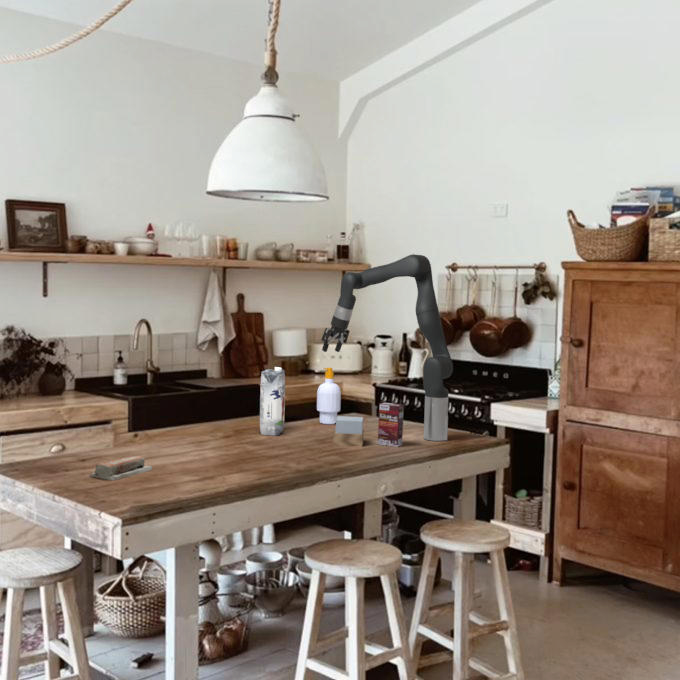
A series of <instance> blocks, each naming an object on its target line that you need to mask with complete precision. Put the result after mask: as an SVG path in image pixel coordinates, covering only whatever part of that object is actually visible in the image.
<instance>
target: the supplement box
mask: <svg viewBox="0 0 680 680" xmlns="http://www.w3.org/2000/svg"><path fill="white" fill-rule="evenodd" d="M378 405H379V406H378V427H377V428H378V431H377V445H378V444H379V446H386V445H387V446H386V447H395V448H398V446H399V447H402V446H403V433H404V432H403V429H404V410H405V409H404V408H405V407H404V406H405V405H404V404H400V403H392V402H391V403H390V402H381V403H379V404H378Z"/></svg>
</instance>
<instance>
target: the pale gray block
mask: <svg viewBox="0 0 680 680" xmlns="http://www.w3.org/2000/svg"><path fill="white" fill-rule="evenodd" d="M335 429H336V433H340V434H362V432H363V430H364V417H363V416H346V415H345V416H342V415H337V419H336V424H335Z"/></svg>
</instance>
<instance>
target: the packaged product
mask: <svg viewBox="0 0 680 680" xmlns="http://www.w3.org/2000/svg"><path fill="white" fill-rule="evenodd" d="M145 461H146V459H145V458H144V457H142V456H141V455H137V456H128V457H123V458H119V459H114V460H110V461H104V462H101V463H98V464H95V470H94V472H93V473H89V477H90V478H91V477H92V478H98V479H102V480H107V481H118V480H120V479H124V478H129V477H132V476H137V475H139V474H143V473H146V472H150V471H152V469H153V466H150V465H145Z"/></svg>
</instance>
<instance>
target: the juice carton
mask: <svg viewBox="0 0 680 680" xmlns="http://www.w3.org/2000/svg"><path fill="white" fill-rule="evenodd" d="M285 374H286V373H285V369H283V368H282V367H280V366H279V367H278V366H274V369H273V368H272V369H271V368H270V369H267V368H266V369H265V370H262V371H261V374H260V375H261V376H260V386H259V387H260V389H259V390H260V395H259V397H260V398H259V429H260V430H259V431H260V434H261V435H262V436H280V434H282V432H283V431H284V427H285V413H286V411H285V408H286V407H285V405H286V404H285V403H286V401H285V400H286V375H285Z"/></svg>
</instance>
